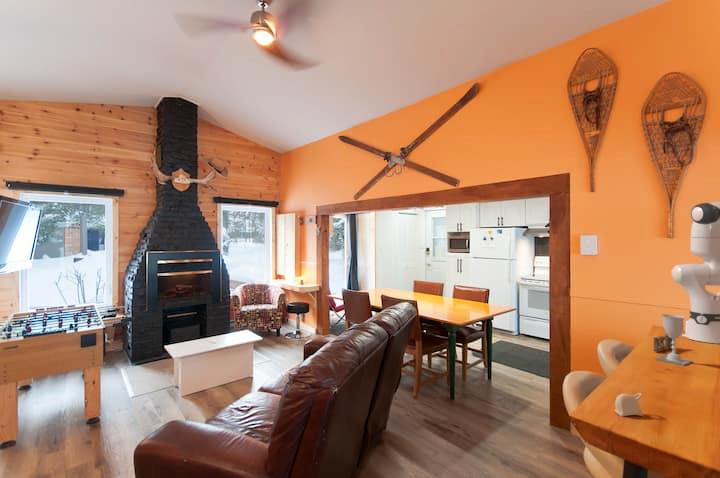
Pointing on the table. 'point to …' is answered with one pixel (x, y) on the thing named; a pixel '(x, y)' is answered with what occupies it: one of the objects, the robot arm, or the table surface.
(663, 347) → the gate leaf
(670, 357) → the chalice
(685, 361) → the coaster
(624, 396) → the decorative ornament
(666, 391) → the table surface
